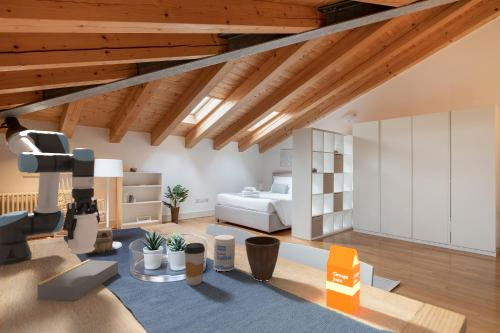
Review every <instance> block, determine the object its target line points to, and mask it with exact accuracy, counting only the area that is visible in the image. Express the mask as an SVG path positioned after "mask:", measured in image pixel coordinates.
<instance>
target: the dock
mask: <svg viewBox="0 0 500 333" xmlns="http://www.w3.org/2000/svg"><path fill="white" fill-rule="evenodd" d="M117 274H119V261H113V260H110V261H109V260H97V259H96V260H95V259H93V260H92V259H88V258H87V260H85V261H82V262H80V263H78V264H76V265H73V266H72V267H70V268H68V269H66V270H63V271H62V272H59V273H58V274H55V275H53V276H51V277H49V278H47V279H45V280H43V281H40V282H39V283H37V300H51V301H65V302H76V301H78V300H79V299H80V298H82V297H83V296H85V295H87V294H88V293H89V292H91V291H93V290H94V289H96V288H97V287H99V286H101V285H102V284H103V283H106V282H107V280H109V279H111V278H113V277H114V276H116V275H117Z"/></svg>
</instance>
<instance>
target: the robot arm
mask: <svg viewBox="0 0 500 333" xmlns="http://www.w3.org/2000/svg"><path fill="white" fill-rule="evenodd" d="M7 147H8V149H9V151H10V152H12V154H14V155H17V168H18V171H19V172H20V173H27V174H28V173H29V174H35V173H36V174H37V173H39V175H38V176H39V177H38V188H37V189H38V191H37V204H36V205H37V206H35V207H34V208H33V212H29V211H28V210H18V211H11V212H8V213H3V214H1V215H0V266H3V265H11V264H18V263H21V262H25V261H28V260H29V259H31V258H33V251H31V247H30V245H29V242H28V241H29V240H28V238H29V237H34V236H40V235H51V234H53V233H58V232H60V231H61V230H63V231H66V233H67V232H68V235H67V248H68V249H72V248H76V230H75V227H76V224H77V219H73V218H74V215H81V214H82V213H83V212H85V213H86V215H88V214H93V212H98V215H97V216H96V217H97V221H98V225H99V223H100V221H101V217H100V213H99V212H100V211H99V208H98V199H95V198H94V196H95V188H93V187H94V186H95V159H96V158H95V150H93V149H92V148H84V147H83V148H78V147H77V148H76V147H75V148H73V149H72V151H71V152H72V153H70V143H69V139H68V137H67V134H65V133H63V132H57V131H43V130H30V129H29V130H21V131H18V132H15V133H13V134H11V135H10V137H9V138H8V140H7ZM60 173H71V187H72V188H71V198H73V202H68V203H67V204H66V213H65V212H64V211H63V210H61V209H62V208H61V207H60V206H59V205H58V203H59V189H60V175H61V174H60ZM93 198H94V199H93Z"/></svg>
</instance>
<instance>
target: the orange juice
mask: <svg viewBox="0 0 500 333" xmlns="http://www.w3.org/2000/svg"><path fill="white" fill-rule="evenodd" d="M325 283H326V284H325V285H326V287H325V289H326V297H325V298H326V299H325V300H326V303H325V304H326V305H325V306H326V307H329V308H333V309H335V310H338V311H341V312H343V313H345V314H349V315H353V314H354V313H355V312H356V311H357V309H358V308H359V307H360V305H361V304H360V302H361V300H360V297H361V295H360V294H361V293H360V291H361V288H360V287H361V263H360V260H359V256H358V252H357V249H355V248H349V247H345V246H340V245H334V244H331V246H330V248H329V253H328V257H327V261H326V281H325ZM354 311H355V312H354Z"/></svg>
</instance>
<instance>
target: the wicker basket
mask: <svg viewBox="0 0 500 333" xmlns="http://www.w3.org/2000/svg"><path fill="white" fill-rule="evenodd" d="M113 238H114V235H113V226H112V227H111V226H110V227H109V226H108V227H98V232H97V238H96V242H95V244H94V245H93V246H94V247H95V250H94V251H92V252H89V253H84V254H83V255H90V256H93V255H95V254H96V255H97V254H103V255H104V254H106V253H107V254H108V253H111V251H112V249H113V247H112V246H113V244H114V240H113Z"/></svg>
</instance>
